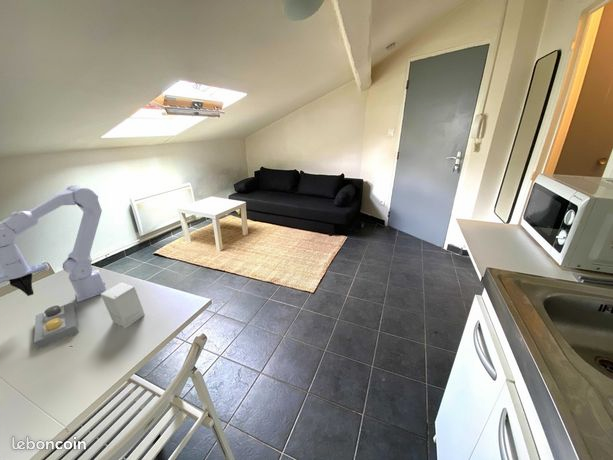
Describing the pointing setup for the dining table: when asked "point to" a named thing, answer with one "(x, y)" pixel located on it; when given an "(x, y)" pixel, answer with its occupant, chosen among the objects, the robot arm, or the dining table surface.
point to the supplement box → (123, 304)
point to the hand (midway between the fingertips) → (30, 293)
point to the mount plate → (52, 336)
